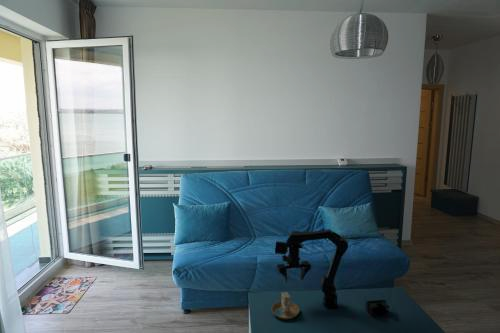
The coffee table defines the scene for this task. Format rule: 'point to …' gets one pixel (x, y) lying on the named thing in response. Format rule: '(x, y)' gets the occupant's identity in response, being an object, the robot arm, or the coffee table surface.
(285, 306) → the taupe streaky block
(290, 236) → the robot arm
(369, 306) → the end cap
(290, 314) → the plant saucer
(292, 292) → the coffee table surface
